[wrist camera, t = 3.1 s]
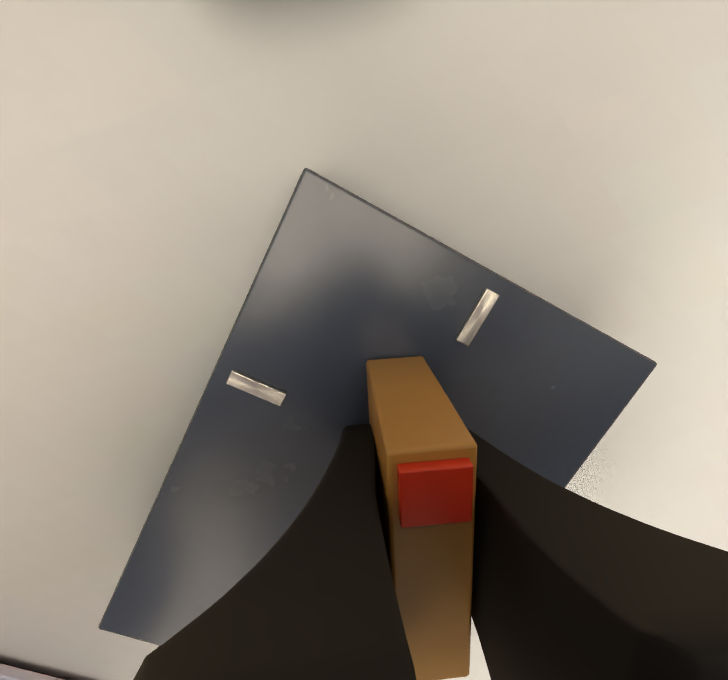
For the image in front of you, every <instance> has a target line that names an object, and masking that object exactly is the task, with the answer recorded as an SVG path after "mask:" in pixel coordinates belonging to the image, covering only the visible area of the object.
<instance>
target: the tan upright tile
mask: <svg viewBox="0 0 728 680" xmlns="http://www.w3.org/2000/svg"><path fill="white" fill-rule="evenodd" d="M366 369H367V388H368V406H369V424H371V427H372V430H373V434H374V438H375V455H376V475H377V495H378V511H379V517H380V522H381V527H382V532H383V537H384V542H385V547H386V552H387V557H388V562H389V566H390V571H391V575H392V580H393V584H394V589H395V593H396V597H397V601H398V605H399V609H400V613H401V618H402V622H403V626H404V630H405V634H406V638H407V642H408V645H409V649H410V653H411V656H412V660H413V664H414V668H415V674H416V679H417V680H440V679H448V678H457V677H465V676H468V675H469V665H470V636H471V608H472V580H473V552H474V524H475V495H476V467H477V444H476V442H475V440H474V439H473V437H472V436H471V434H470V432H469V431H468V429H467V428H466V426H465V424H464V423H463V421H462V419H461V418H460V416H459V415H458V413H457V411H456V410H455V408H454V406H453V405H452V403H451V402H450V400H449V398H448V397H447V395H446V394H445V392H444V390H443V389H442V387H441V385H440V384H439V382H438V381H437V379H436V377H435V376H434V374H433V372H432V371H431V369H430V368H429V366H428V364H427V363H426V361H425V359H424V358H423V357H422V356H416V357H403V358H390V359H376V360H368V361H367V363H366Z"/></svg>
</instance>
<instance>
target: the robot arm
mask: <svg viewBox="0 0 728 680" xmlns="http://www.w3.org/2000/svg"><path fill="white" fill-rule="evenodd" d="M466 428H467V427H466ZM467 429H468V428H467ZM468 431H469V432H470V434H471V436H472V437H473V439H474V440H475V442H476V444H477V467H476V495H475V524H474V552H473V580H472V608H471V616H472V619H473V622H474V625H475V627H476V630H477V633H478V636H479V639H480V643H481V646H482V649H483V653H484V656H485V660H486V663H487V667H488V670H489V674H490V677H491V680H728V552H727V551H724V550H721V549H718V548H715V547H712V546H709V545H705V544H702V543H699V542H696V541H693V540H690V539H687V538H684V537H681V536H678V535H675V534H672V533H670V532H667V531H664V530H661V529H658V528H656V527H653V526H650V525H648V524H645V523H643V522H640V521H638V520H635V519H633V518H630V517H628V516H625V515H623V514H620V513H618V512H615V511H613V510H610V509H608V508H606V507H603V506H601V505H599V504H597V503H594V502H592V501H590V500H588V499H586V498H584V497H582V496H580V495H578V494H576V493H574V492H571V491H569V490H567V489H565V488H563V487H561V486H559V485H557V484H555V483H554V482H552V481H550V480H548V479H546V478H544V477H543V476H541V475H539V474H537V473H536V472H534V471H532V470H531V469H529V468H527V467H525V466H524V465H522V464H520V463H519V462H517V461H516V460H514V459H512V458H511V457H509V456H508V455H506V454H505V453H503V452H501V451H500V450H498V449H497V448H495V447H494V446H492V445H491V444H490V443H488V442H487V441H485V440H484V439H482V438H481V437H479V436H478V435H477V434H475V433H474V432H472V431H471V430H469V429H468ZM0 680H64V679H60V678H56V677H52V676H48V675H44V674H40V673H36V672H32V671H28V670H24V669H20V668H16V667H12V666H8V665H4V664H0ZM134 680H417V679H416V674H415V668H414V664H413V660H412V656H411V653H410V649H409V645H408V642H407V638H406V634H405V630H404V626H403V622H402V618H401V613H400V609H399V605H398V601H397V597H396V593H395V589H394V584H393V580H392V575H391V571H390V566H389V562H388V557H387V552H386V547H385V542H384V537H383V532H382V527H381V522H380V517H379V511H378V495H377V475H376V455H375V438H374V434H373V430H372V427H371V424H363V425H351V426H346V427H345V428H344V429H343V430H342V436H341V439H340V442H339V445H338V447H337V450H336V452H335V454H334V456H333V458H332V460H331V462H330V464H329V466H328V468H327V470H326V472H325V474H324V476H323V478H322V479H321V481H320V483H319V484H318V486H317V488H316V489H315V491H314V493H313V494H312V496H311V498H310V499H309V501H308V502H307V504H306V505H305V506H304V508H303V509H302V511H301V512H300V513H299V515H298V516H297V517H296V519H295V520H294V521H293V523H292V524H291V525H290V527H289V528H288V529H287V530H286V532H285V533H284V534H283V535H282V536H281V537H280V539H279V540H278V541H277V542H276V543H275V544H274V545H273V547H272V548H271V549H270V550H269V551H268V552H267V553H266V555H265V556H264V557H263V558H262V559H261V560H260V561H259V562H258V563H257V564H256V565H255V566H254V567H253V568H252V569H251V570H250V571H249V572H248V573H247V574H246V575H245V576H244V577H243V578H242V579H240V580H239V581H238V582H237V583H236V584H235V585H234V586H233V587H232V588H231V589H230V590H229V591H228V592H227V593H226V594H225V595H223V596H222V597H221V598H220V599H219V600H218V601H217V602H215V603H214V604H213V605H212V606H211V607H209V608H208V609H207V610H206V611H205V612H203V613H202V614H201V615H199V616H198V617H197V618H196V619H194V620H193V621H192V622H190V623H189V624H188V625H187V626H185V627H184V628H183V629H182V630H180V631H179V632H178V633H176V634H175V635H174V636H173V637H171V638H170V639H169V640H167V641H166V642H165V643H164V644H162V645H161V646H160V647H158V648H157V649H156V650H154V651H153V652H151V653H150V654H149V655H147V656H146V658H145V659H144V661H143V663H142V665H141V667H140V669H139V670H138V672H137V674H136V676H135V678H134Z"/></svg>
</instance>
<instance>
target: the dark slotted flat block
mask: <svg viewBox="0 0 728 680" xmlns="http://www.w3.org/2000/svg"><path fill="white" fill-rule="evenodd" d="M416 356H422V357H423V358H424V359H425V361H426V363H427V364H428V366H429V368H430V369H431V371H432V372H433V374H434V376H435V377H436V379H437V381H438V382H439V384H440V385H441V387H442V389H443V390H444V392H445V394H446V395H447V397H448V398H449V400H450V402H451V403H452V405H453V406H454V408H455V410H456V411H457V413H458V415H459V416H460V418H461V419H462V421H463V423H464V424H465V426H466V427H467V428H468V429H469V430H471V431H472V432H474V433H475V434H477V435H478V436H479V437H481V438H482V439H484V440H485V441H487V442H488V443H490V444H491V445H492V446H494V447H495V448H497V449H498V450H500V451H501V452H503V453H505V454H506V455H508V456H509V457H511V458H512V459H514V460H516V461H517V462H519V463H520V464H522V465H524V466H525V467H527V468H529V469H531V470H532V471H534V472H536V473H537V474H539V475H541V476H543V477H544V478H546V479H548V480H550V481H552V482H554V483H555V484H557V485H559V486H561V487H563V488H565V487H566V485H567V484H568V483H569V481H570V480H571V479H572V477H573V476H574V475H575V473H576V472H577V471H578V469H579V468H580V467H581V465H582V464H583V463H584V461H585V460H586V459H587V457H588V456H589V455H590V453H591V452H592V451H593V449H594V448H595V447H596V445H597V444H598V443H599V441H600V440H601V439H602V437H603V436H604V435H605V433H606V432H607V431H608V429H609V428H610V427H611V425H612V424H613V423H614V421H615V420H616V419H617V417H618V416H619V415H620V413H621V412H622V411H623V409H624V408H625V407H626V405H627V404H628V403H629V401H630V400H631V399H632V397H633V396H634V395H635V393H636V392H637V391H638V389H639V388H640V387H641V385H642V384H643V383H644V381H645V380H646V379H647V377H648V376H649V375H650V373H651V372H652V371H653V369H654V368H655V367H656V365H657V363H656V362H655V361H653V360H651V359H649V358H648V357H646V356H644V355H642V354H640V353H639V352H637V351H635V350H633V349H631V348H630V347H628V346H626V345H624V344H622V343H621V342H619V341H617V340H615V339H613V338H612V337H610V336H608V335H606V334H604V333H603V332H601V331H599V330H597V329H595V328H594V327H592V326H590V325H588V324H586V323H585V322H583V321H581V320H579V319H577V318H576V317H574V316H572V315H570V314H568V313H567V312H565V311H563V310H561V309H560V308H558V307H556V306H554V305H552V304H551V303H549V302H547V301H545V300H543V299H542V298H540V297H538V296H536V295H534V294H533V293H531V292H529V291H527V290H525V289H524V288H522V287H520V286H518V285H516V284H515V283H513V282H511V281H509V280H507V279H506V278H504V277H502V276H500V275H498V274H497V273H495V272H493V271H491V270H489V269H488V268H486V267H484V266H482V265H480V264H479V263H477V262H475V261H473V260H471V259H470V258H468V257H466V256H464V255H462V254H461V253H459V252H457V251H455V250H453V249H452V248H450V247H448V246H446V245H444V244H443V243H441V242H439V241H437V240H435V239H434V238H432V237H430V236H428V235H426V234H425V233H423V232H421V231H419V230H417V229H416V228H414V227H412V226H410V225H408V224H407V223H405V222H403V221H401V220H399V219H398V218H396V217H394V216H392V215H390V214H389V213H387V212H385V211H383V210H381V209H380V208H378V207H376V206H374V205H373V204H371V203H369V202H367V201H365V200H364V199H362V198H360V197H358V196H356V195H355V194H353V193H351V192H349V191H347V190H346V189H344V188H342V187H340V186H338V185H337V184H335V183H333V182H331V181H329V180H328V179H326V178H324V177H322V176H320V175H319V174H317V173H315V172H313V171H311V170H310V169H308V168H305V169H304V170H303V172H302V174H301V176H300V179H299V181H298V183H297V185H296V187H295V190H294V192H293V194H292V196H291V199H290V201H289V203H288V205H287V208H286V210H285V212H284V214H283V216H282V219H281V221H280V223H279V225H278V228H277V230H276V232H275V234H274V236H273V239H272V241H271V243H270V245H269V248H268V250H267V252H266V254H265V257H264V259H263V261H262V263H261V265H260V268H259V270H258V272H257V274H256V277H255V279H254V281H253V283H252V286H251V288H250V290H249V292H248V294H247V297H246V299H245V301H244V303H243V306H242V308H241V310H240V312H239V314H238V317H237V319H236V321H235V323H234V326H233V328H232V330H231V332H230V335H229V337H228V339H227V341H226V343H225V346H224V348H223V350H222V352H221V355H220V357H219V359H218V361H217V364H216V366H215V368H214V370H213V372H212V375H211V377H210V379H209V381H208V384H207V386H206V388H205V390H204V392H203V395H202V397H201V399H200V401H199V404H198V406H197V408H196V410H195V413H194V415H193V417H192V419H191V421H190V424H189V426H188V428H187V430H186V433H185V435H184V437H183V439H182V442H181V444H180V446H179V448H178V450H177V453H176V455H175V457H174V459H173V462H172V464H171V466H170V468H169V471H168V473H167V475H166V477H165V479H164V482H163V484H162V486H161V488H160V491H159V493H158V495H157V497H156V499H155V502H154V504H153V506H152V508H151V511H150V513H149V515H148V517H147V520H146V522H145V524H144V526H143V528H142V531H141V533H140V535H139V537H138V540H137V542H136V544H135V546H134V549H133V551H132V553H131V555H130V557H129V560H128V562H127V564H126V566H125V569H124V571H123V573H122V575H121V577H120V580H119V582H118V584H117V586H116V589H115V591H114V593H113V595H112V598H111V600H110V602H109V604H108V606H107V609H106V611H105V613H104V615H103V618H102V620H101V622H100V624H99V629H102V630H105V631H109V632H113V633H116V634H120V635H123V636H127V637H131V638H134V639H138V640H141V641H145V642H149V643H152V644H156V645H159V646H161V645H162V644H164V643H165V642H166V641H167V640H169V639H170V638H171V637H173V636H174V635H175V634H176V633H178V632H179V631H180V630H182V629H183V628H184V627H185V626H187V625H188V624H189V623H190V622H192V621H193V620H194V619H196V618H197V617H198V616H199V615H201V614H202V613H203V612H205V611H206V610H207V609H208V608H209V607H211V606H212V605H213V604H214V603H215V602H217V601H218V600H219V599H220V598H221V597H222V596H223V595H225V594H226V593H227V592H228V591H229V590H230V589H231V588H232V587H233V586H234V585H235V584H236V583H237V582H238V581H239V580H240V579H242V578H243V577H244V576H245V575H246V574H247V573H248V572H249V571H250V570H251V569H252V568H253V567H254V566H255V565H256V564H257V563H258V562H259V561H260V560H261V559H262V558H263V557H264V556H265V555H266V553H267V552H268V551H269V550H270V549H271V548H272V547H273V545H274V544H275V543H276V542H277V541H278V540H279V539H280V537H281V536H282V535H283V534H284V533H285V532H286V530H287V529H288V528H289V527H290V525H291V524H292V523H293V521H294V520H295V519H296V517H297V516H298V515H299V513H300V512H301V511H302V509H303V508H304V506H305V505H306V504H307V502H308V501H309V499H310V498H311V496H312V494H313V493H314V491H315V489H316V488H317V486H318V484H319V483H320V481H321V479H322V478H323V476H324V474H325V472H326V470H327V468H328V466H329V464H330V462H331V460H332V458H333V456H334V454H335V452H336V450H337V447H338V445H339V442H340V439H341V436H342V430H343V429H344V428H345V427H346V426H351V425H363V424H369V406H368V388H367V369H366V363H367V361H368V360H376V359H390V358H403V357H416Z"/></svg>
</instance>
